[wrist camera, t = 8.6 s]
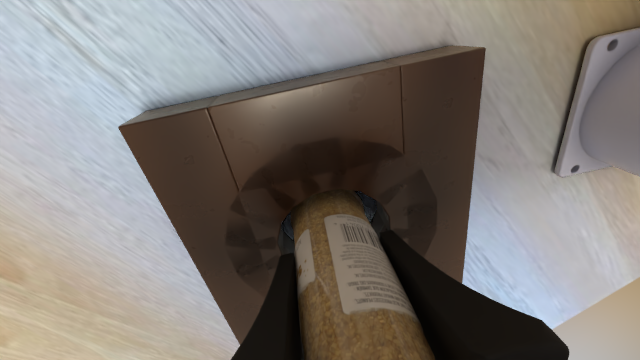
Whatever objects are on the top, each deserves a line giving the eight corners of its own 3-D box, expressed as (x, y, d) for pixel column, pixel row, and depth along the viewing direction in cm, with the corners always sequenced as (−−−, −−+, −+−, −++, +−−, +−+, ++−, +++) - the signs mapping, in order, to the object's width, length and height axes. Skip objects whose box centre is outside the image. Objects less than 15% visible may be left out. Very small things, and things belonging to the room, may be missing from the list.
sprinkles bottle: (274, 213, 16) (259, 665, 5) (332, 164, 15) (498, 585, 4) (323, 252, 18) (400, 641, 7) (377, 211, 17) (583, 585, 6)
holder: (452, 45, 13) (486, 47, 11) (441, 274, 21) (460, 302, 19) (144, 111, 13) (116, 126, 11) (248, 320, 21) (244, 354, 18)
